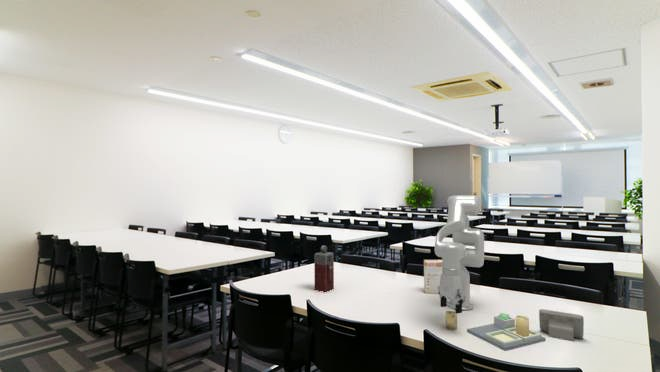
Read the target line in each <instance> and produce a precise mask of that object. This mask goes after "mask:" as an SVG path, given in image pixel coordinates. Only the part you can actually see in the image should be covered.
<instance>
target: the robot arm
mask: <svg viewBox="0 0 660 372" xmlns="http://www.w3.org/2000/svg"><path fill="white" fill-rule="evenodd" d="M447 207H448V210H447V211H448V213H447V220H446V221H447V222H446V224H444V225H443V226H442V227H441V228H440V229H439V230H438V232H437V234H436V236H435V242H434V254H435V255H436V256H437V257H438V258H441V260H442V274H441V277H440V286H438V287H437V289H438V291H439V292H438V293H439V294H438V295H439V298H440V307H441V308H445V307H449V308H451V309H453V310H454V312H456V313H457V314H462V313H463V311H471V310H473V309H474V305H473V304H472V303H471V289H470V288H471V283H470V281H471V280H470V279H471V278H470V277H471V276H470V273H469V270H467V268H466V267H472V268H481V267H483V266H484V262H485V235H484V232H483V230H482V229H480V228H473V227H470V219H469V217H468V216H477V215H479V213H480V211H481V208H482V198H481V197H480V196H479V195H475V194H474V195H473V194H471V195H470V194H468V195H465V194H463V195H461V194H460V195H459V194H458V195H456V194H455V195H451V196H448V198H447ZM449 235H452V242H451V241H443V240H444V239H445V238H446V237H448V236H449ZM466 246H467V247H469V248H467V247H466ZM470 247H474V248H470ZM448 300H449V302H447V301H448Z"/></svg>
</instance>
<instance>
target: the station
mask: <svg viewBox="0 0 660 372" xmlns="http://www.w3.org/2000/svg"><path fill="white" fill-rule="evenodd" d="M466 332H467V333H469V334H471V335H473V336H475V337H477V338H479V339H481V340H483V341H485V342H487V343H488V344H491V345H493V346H495V347H497V346H498V347H497V348H499V349H501V350H503V349H504V350H503V351H505V350H506V351H509V350H514V349H517V348H522V347H526V346H530V345H533V344H538V343H541V342H545V341H546V337H545V336H542V334H541V333H539V332H536V331H534V330H532V329H530V318H529V317H528V316H525V315H515V318H513V317H511V316H509V319H508V320H503V319H501V318H499V315H494V316H493V323H489V324H486V325H485V324H484V325H481V326H475V327H471V328H467V329H466Z"/></svg>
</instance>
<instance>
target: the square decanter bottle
mask: <svg viewBox="0 0 660 372" xmlns="http://www.w3.org/2000/svg"><path fill="white" fill-rule="evenodd" d="M334 255H335V254H334V252H330V251H328V246H327V245H321V247H320V252H316V253H314V256H313V257H314V260H313V261H314V267H313V268H314V291H315V290H318V291H317V292H320V291H323V292H322V293H325V292H327V291H329V292H331V291H333V290H335V289H334V287H335V286H334V285H335V281H334V280H335V279H334V278H335V277H334V274H335V273H334V267H335V266H334V264H335V262H334V257H335V256H334ZM332 289H333V290H332ZM330 290H331V291H330ZM327 293H328V292H327Z"/></svg>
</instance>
